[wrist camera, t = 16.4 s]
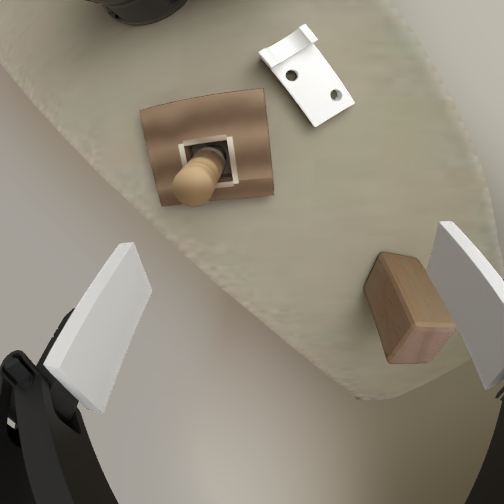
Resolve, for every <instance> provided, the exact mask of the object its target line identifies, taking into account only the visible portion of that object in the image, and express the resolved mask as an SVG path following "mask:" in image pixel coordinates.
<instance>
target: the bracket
mask: <svg viewBox="0 0 504 504" xmlns="http://www.w3.org/2000/svg"><path fill="white" fill-rule="evenodd" d="M317 40H318V39H317V38H316V36H315V35H314V34H313V33H312V32H311V30H310V29H309V28H308V27H307V26H306V24H304V25H302V26H301V27H299V28H298V29H297V30H296V31H294V32H293V33H292V34H290V35H289V36H287V37H286V38H284V39H282V40H281V41H279V42H277V43H276V44H274V45H272V46H270V47H268V48H264V49H263V50H261V51H260V52H259V55H260V58H261V59H262V60H263V61H264V62H265V63H266V65H267V66H268V67H269V68H270V70H271V71H272V72H273V73H274V74H275V76H276V77H277V78H278V79H279V81H280V82H281V83H282V84H283V86H284V87H285V88H286V90H287V91H288V92H289V93H290V95H291V96H292V97H293V99H294V100H295V101H296V103H297V104H298V105H299V107H300V108H301V110H302V111H303V112H304V114H305V115H306V116H307V118H308V119H309V121H310V122H311V124H312V125H313V126H314V127H317V126H318V125H320V124H321V123H323V122H325V121H326V120H328V119H329V118H331V117H333V116H334V115H336V114H338V113H339V112H341V111H343V110H344V109H346V108H348V107H349V106H351V105H353V104H354V103H355V102H354V100H353V99H352V97H351V96H350V94H349V93H348V91H347V90H346V88H345V87H344V85H343V84H342V82H341V81H340V79H339V78H338V76H337V75H336V74H335V72H334V71H333V69H332V68H331V67H330V65H329V64H328V62H327V61H326V60H325V58H324V57H323V56H322V54H321V53H320V52H319V50H318V49H317V48H316V47H315V45H314V44H313V43H314V42H316V41H317ZM289 70H292V71H294V72H295V73H296V75H297V78H296V80H294V81H289V80H288V79H287V78H286V72H287V71H289ZM332 90H335V91H336V92H337V97H336V98H335V99H333V100H332V99H331V97H330V93H331V91H332Z"/></svg>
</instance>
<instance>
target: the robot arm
mask: <svg viewBox="0 0 504 504" xmlns="http://www.w3.org/2000/svg"><path fill="white" fill-rule="evenodd" d="M87 1H91V2H95V3H99V4H102V6H103V7H104V8H105V10H106V11H107V12H108V14H109V15H110V16H111V17H113V18H114V19H116V20H118V21H121V22H124V23H127V24H132V25H145V24H150V23H154V22H157V21H160V20H162V19H164V18H166V17H168V16H170V15H171V14H173V13H174V12H176V11H177V10H178V9H179V8H180V7H181V6H183V5H184V4H185V2H186V1H187V0H87ZM426 273H427V275H428V277H429V278H430V280H431V282H432V283H433V285H434V287H435V288H436V290H437V292H438V293H439V295H440V297H441V299H442V300H443V302H444V304H445V306H446V308H447V309H448V311H449V313H450V315H451V317H452V319H453V321H454V323H455V325H456V327H457V328H458V330H459V332H460V334H461V336H462V338H463V341H464V343H465V345H466V347H467V349H468V351H469V353H470V355H471V358H472V360H473V362H474V364H475V367H476V369H477V371H478V374H479V376H480V378H481V381H482V383H483V386H484V389H488V388H491V387H493V386H495V385H498V384H499V383H500V382H501V381H502V380H503V379H504V279H503V280H502V278H501V277H500V276H499V274H498V273H497V272H496V271H495V269H494V268H493V267H492V266H491V264H490V263H489V262H488V261H487V260H486V258H485V257H484V256H483V255H482V254H481V252H480V251H479V250H478V249H477V248H476V247H475V245H474V244H473V243H472V242H471V241H470V240H469V239H468V238H467V237H466V235H465V234H464V233H463V232H462V231H461V230H460V229H459V228H458V227H457V226H456V225H455V224H454V223H453V222H452V221H440V222H439V223H438V227H437V232H436V236H435V241H434V245H433V249H432V253H431V257H430V261H429V264H428V268H427V272H426ZM151 293H152V288H151V285H150V283H149V281H148V278H147V275H146V273H145V270H144V268H143V265H142V263H141V260H140V257H139V254H138V252H137V249H136V246H135V243H134V242H130V243H120V244H119V245H118V246H117V248H116V249H115V251H114V252H113V253H112V255H111V256H110V257H109V259H108V260H107V262H106V263H105V265H104V266H103V267H102V269H101V270H100V272H99V273H98V275H97V276H96V277H95V279H94V281H93V282H92V283H91V285H90V286H89V288H88V289H87V291H86V292H85V294H84V295H83V297H82V298H81V300H80V302H79V303H78V305H77V306H76V308H74V309H72V310H71V311H70V312H69V313H68V314H67V315H66V316H65V317H64V318H63V320H62V322H61V323H60V325H59V327H58V329H57V330H56V332H55V333H54V337H52V339H51V340H50V342H49V344H48V345H47V347H46V349H45V351H44V353H43V354H42V356H41V358H40V360H39V362H38V364H37V365H36V366H35V365H34V364H33V363H32V362H31V360H30V359H29V358H28V357H27V356H26V355H25V353H23V352H22V351H20V350H16V351H14V352H11V353H10V354H9V355H7V357H6V358H5V359H4V360H3V362H2V364H1V366H0V504H118V502H117V500H116V498H115V496H114V494H113V492H112V490H111V488H110V486H109V484H108V482H107V480H106V478H105V476H104V473H103V471H102V469H101V467H100V464H99V462H98V459H97V457H96V454H95V452H94V450H93V447H92V444H91V442H90V439H89V436H88V433H87V430H86V428H85V425H84V422H83V419H82V415H81V413H80V411H79V409H78V408H77V404H78V402H80V403H81V404H82V405H83V406H84V407H85V408H87V409H88V410H92V411H96V412H99V413H104V411H105V408H106V405H107V402H108V399H109V396H110V394H111V391H112V388H113V386H114V383H115V380H116V377H117V375H118V372H119V369H120V367H121V365H122V362H123V359H124V357H125V354H126V352H127V349H128V347H129V344H130V342H131V339H132V337H133V335H134V332H135V330H136V328H137V325H138V323H139V320H140V318H141V316H142V314H143V311H144V309H145V307H146V305H147V302H148V300H149V298H150V296H151ZM503 392H504V387H503V388H502V389H501V390H500V391H499V392H498V393H497V395H496V397H495V398H498V397H499V396H500V395H501V394H502V393H503ZM500 400H502V405H501V409H500V413H499V417H498V420H497V424H496V427H495V430H494V434H493V437H492V440H491V443H490V446H489V449H488V451H487V454H486V457H485V460H484V462H483V465H482V468H481V470H480V472H479V474H478V477H477V479H476V481H475V484H474V486H473V488H472V490H471V492H470V494H469V496H468V498H467V500H466V502H465V504H504V396H503V397H502V398H501V399H500ZM7 418H10V419H11V420H12V421H13V422H15V428H12V427H11V426H9V425H8V424H7Z"/></svg>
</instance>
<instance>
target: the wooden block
mask: <svg viewBox="0 0 504 504" xmlns="http://www.w3.org/2000/svg"><path fill="white" fill-rule="evenodd" d="M364 291H365V294H366V297H367V300H368V303H369V306H370V308H371V311H372V314H373V317H374V320H375V324H376V327H377V330H378V333H379V336H380V339H381V343H382V346H383V349H384V353H385V356H386V359H387V362H388V363H390V364H419V363H428V362H430V361H431V360H432V359H433V358H434V357H435V356H436V354H437V353H438V352H439V351H440V350H441V348H442V347H443V346H444V345H445V343H446V342H447V341H448V340H449V338H450V337H451V336H452V335H453V333H454V332H455V331H456V328H457V327H456V325H455V323H454V321H453V319H452V317H451V315H450V313H449V311H448V309H447V308H446V306H445V304H444V302H443V300H442V299H441V297H440V295H439V293H438V292H437V290H436V288H435V287H434V285H433V283H432V282H431V280H430V278H429V277H428V275H427V273H426V271H425V269H424V268H423V266H422V264H421V263H420V261H419V260H418V259H417V258H413V257H408V256H403V255H397V254H392V253H386V252H381V253H380V254H379V256H378V258H377V260H376V262H375V265H374V267H373V269H372V271H371V273H370V275H369V278H368V280H367V282H366V284H365V286H364Z"/></svg>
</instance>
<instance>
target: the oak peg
mask: <svg viewBox="0 0 504 504" xmlns="http://www.w3.org/2000/svg"><path fill="white" fill-rule="evenodd" d="M225 166H226V152H225V150H224V149H223V148H222V147H221V146H219V145H216V144H210V145H207V146H205V147H204V148H201V149H200V150H198V151H197V152H196V153H195V154H194V156H193V157H192V158H191V159H190V160H189V162H188V163H187V164H186V165H185V166H184V167H183V168H182V169H181V170H180V171H179V173H178V174H177V175H176V176H175V178H174V180H173V185H172V187H173V192H174V195H175V197H176V198H177V199H178V200H179V201H180V202H181V203H183V204H184V205H187V206H191V207H197V206H201V205H203V204H205V203H206V202H207V201H208V200H209V199H210V197H211V195H212V193H213V191H214V189H215V187H216V185H217V183H218V180H219V178H220V176H221V174H222V173H223V171H224V169H225Z"/></svg>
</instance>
